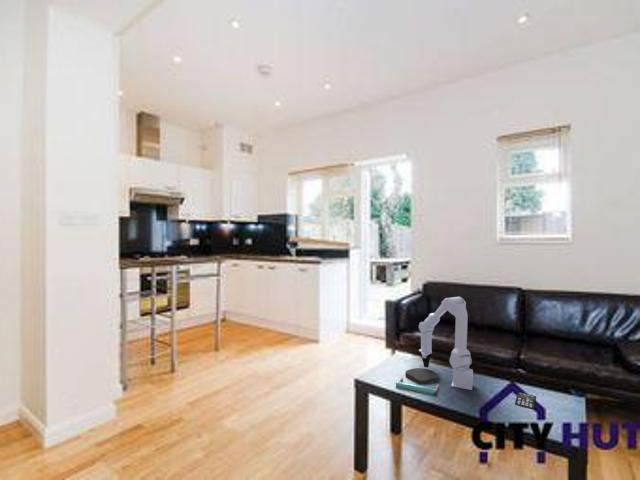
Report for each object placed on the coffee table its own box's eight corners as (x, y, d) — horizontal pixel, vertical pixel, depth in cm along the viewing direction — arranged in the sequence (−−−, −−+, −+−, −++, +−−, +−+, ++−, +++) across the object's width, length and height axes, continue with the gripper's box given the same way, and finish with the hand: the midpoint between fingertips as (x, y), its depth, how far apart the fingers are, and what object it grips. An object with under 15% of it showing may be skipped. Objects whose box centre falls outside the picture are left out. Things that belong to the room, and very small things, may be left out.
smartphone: (536, 396, 162) (534, 408, 149) (536, 397, 162) (534, 410, 149) (518, 391, 166) (514, 404, 154) (517, 393, 166) (514, 405, 154)
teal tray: (438, 387, 172) (438, 382, 172) (435, 395, 163) (435, 390, 163) (400, 379, 180) (400, 375, 180) (395, 387, 171) (395, 382, 171)
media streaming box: (402, 375, 187) (402, 370, 187) (423, 371, 193) (423, 365, 193) (420, 386, 173) (420, 380, 173) (442, 381, 180) (442, 375, 180)
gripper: (421, 338, 202) (421, 361, 203) (416, 345, 189) (416, 370, 190) (433, 340, 199) (433, 363, 199) (429, 347, 186) (429, 372, 186)
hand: (426, 367), depth 194 cm, fingers closed
